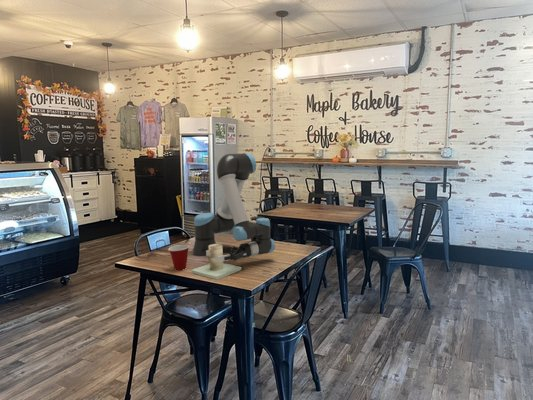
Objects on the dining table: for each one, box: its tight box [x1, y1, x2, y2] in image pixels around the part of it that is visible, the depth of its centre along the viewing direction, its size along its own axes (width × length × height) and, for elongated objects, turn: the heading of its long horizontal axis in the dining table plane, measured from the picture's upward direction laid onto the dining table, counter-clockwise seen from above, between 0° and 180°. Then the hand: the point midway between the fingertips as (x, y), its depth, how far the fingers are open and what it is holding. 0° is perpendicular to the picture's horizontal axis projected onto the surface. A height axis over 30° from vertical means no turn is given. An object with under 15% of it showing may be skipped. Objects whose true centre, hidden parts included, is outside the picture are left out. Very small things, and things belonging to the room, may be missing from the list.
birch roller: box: [208, 243, 224, 271], centre depth 203 cm, size 7×7×12 cm
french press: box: [250, 207, 265, 242], centre depth 259 cm, size 12×9×23 cm
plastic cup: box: [168, 244, 190, 271], centre depth 208 cm, size 11×11×12 cm
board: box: [190, 262, 242, 280], centre depth 204 cm, size 18×18×2 cm
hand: (211, 256), depth 202 cm, fingers open, 13 cm apart
